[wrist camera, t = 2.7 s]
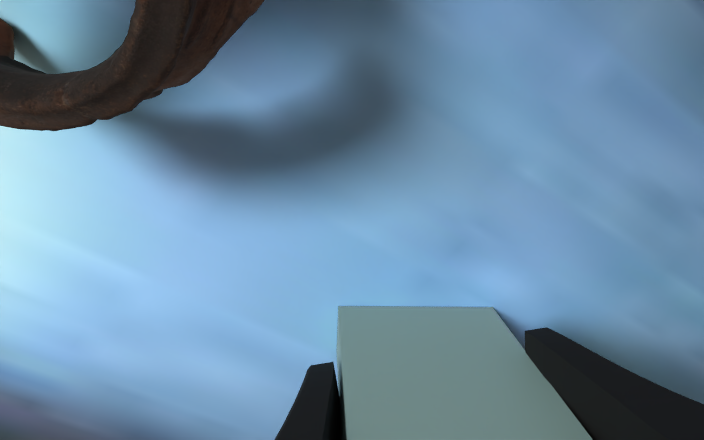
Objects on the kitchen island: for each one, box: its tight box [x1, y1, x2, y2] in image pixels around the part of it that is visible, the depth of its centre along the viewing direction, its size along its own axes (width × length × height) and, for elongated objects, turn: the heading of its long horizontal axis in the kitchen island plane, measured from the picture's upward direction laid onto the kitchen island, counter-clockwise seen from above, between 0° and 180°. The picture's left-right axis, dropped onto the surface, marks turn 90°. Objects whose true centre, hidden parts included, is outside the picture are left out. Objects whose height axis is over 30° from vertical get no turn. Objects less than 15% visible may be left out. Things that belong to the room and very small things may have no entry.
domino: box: [337, 306, 593, 440], centre depth 10 cm, size 5×2×8 cm, turn 88°
